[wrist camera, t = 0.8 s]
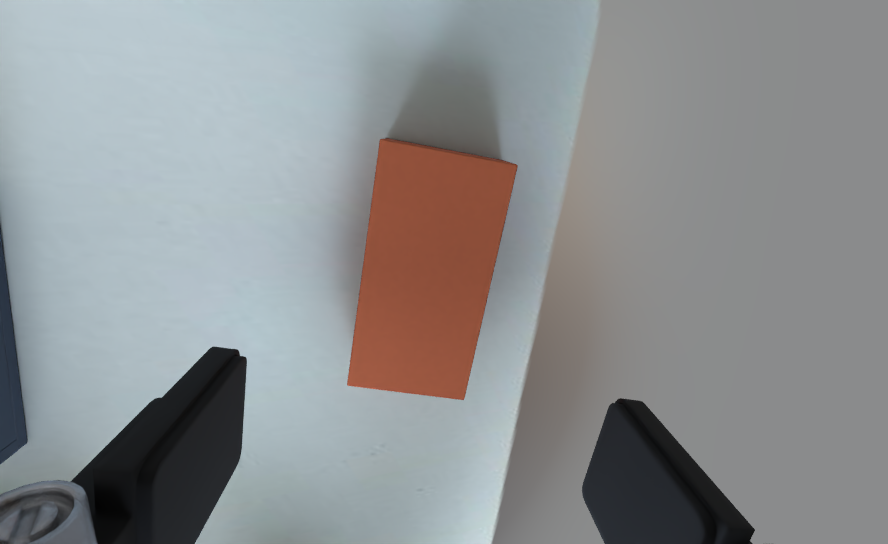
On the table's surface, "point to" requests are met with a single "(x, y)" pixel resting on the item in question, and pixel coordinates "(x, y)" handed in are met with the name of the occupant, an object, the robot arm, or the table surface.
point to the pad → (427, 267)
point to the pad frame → (9, 377)
